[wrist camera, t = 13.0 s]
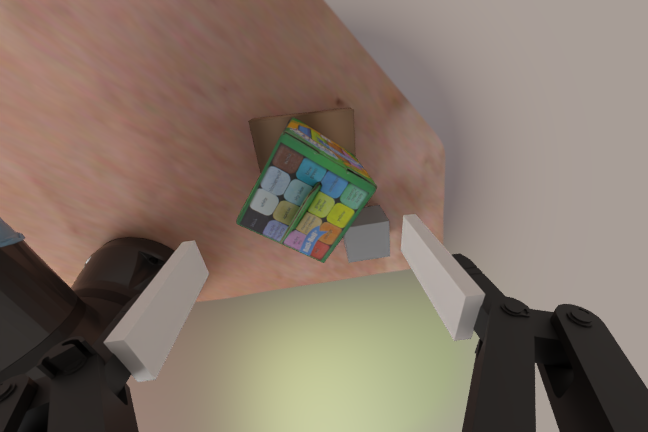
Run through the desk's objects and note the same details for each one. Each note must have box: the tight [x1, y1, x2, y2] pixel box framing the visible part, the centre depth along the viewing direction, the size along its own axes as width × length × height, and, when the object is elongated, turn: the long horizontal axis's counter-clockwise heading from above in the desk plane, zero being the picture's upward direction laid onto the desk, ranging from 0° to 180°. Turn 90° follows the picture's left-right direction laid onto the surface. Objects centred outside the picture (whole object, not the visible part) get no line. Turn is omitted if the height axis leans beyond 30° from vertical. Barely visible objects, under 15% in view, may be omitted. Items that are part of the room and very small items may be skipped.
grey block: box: [344, 205, 390, 263], centre depth 35 cm, size 6×6×5 cm
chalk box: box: [236, 117, 377, 263], centre depth 24 cm, size 9×9×15 cm
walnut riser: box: [249, 108, 355, 173], centre depth 31 cm, size 12×12×2 cm
